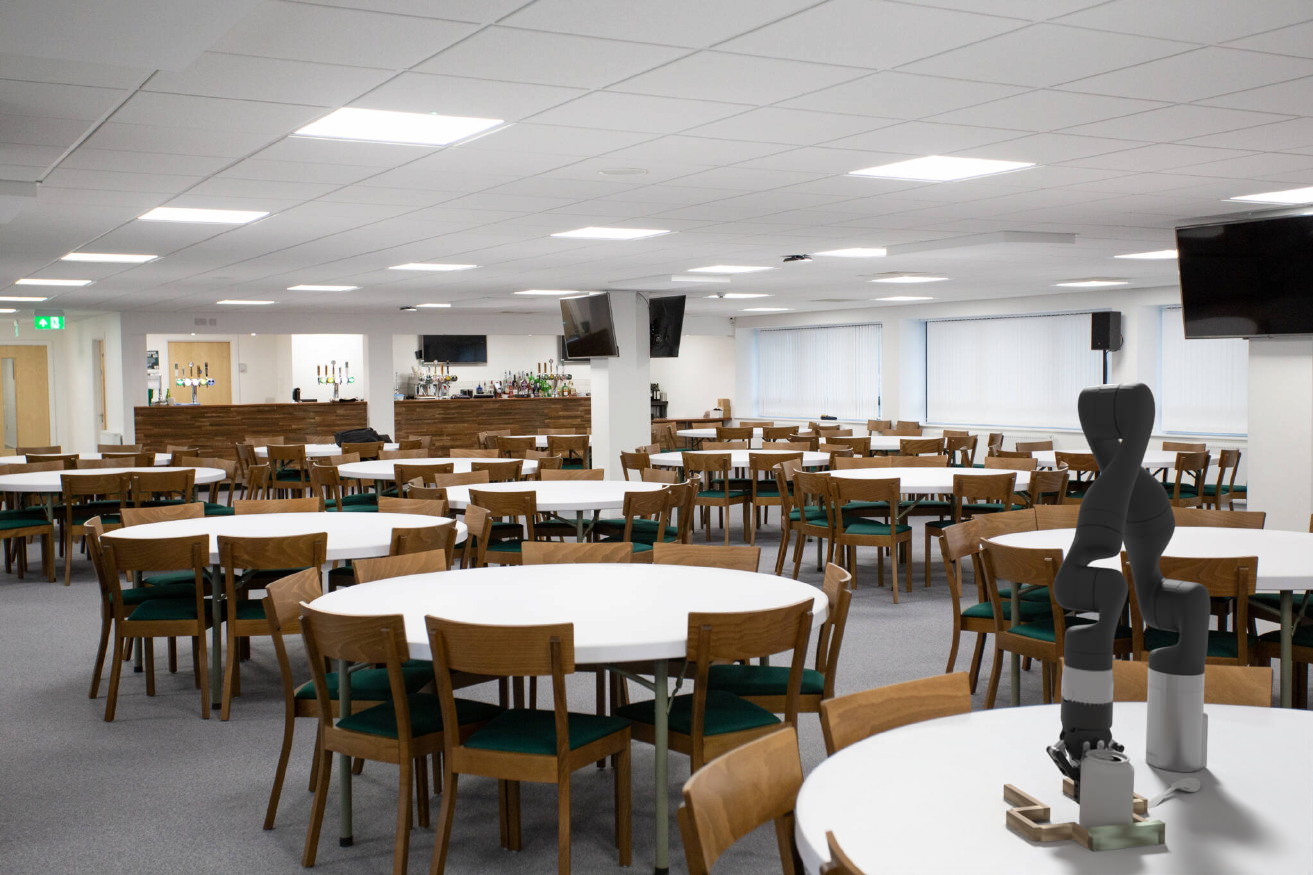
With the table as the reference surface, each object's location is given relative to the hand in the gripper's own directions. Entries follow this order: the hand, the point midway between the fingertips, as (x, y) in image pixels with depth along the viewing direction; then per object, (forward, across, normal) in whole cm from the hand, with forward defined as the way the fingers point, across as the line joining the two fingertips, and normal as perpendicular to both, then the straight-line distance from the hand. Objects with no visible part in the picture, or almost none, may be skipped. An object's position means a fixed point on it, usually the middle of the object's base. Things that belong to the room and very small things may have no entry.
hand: (1083, 804), depth 174 cm
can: (+3, 0, +5) cm, 6 cm away
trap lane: (+3, 0, -1) cm, 3 cm away
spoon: (+3, -20, -6) cm, 21 cm away
